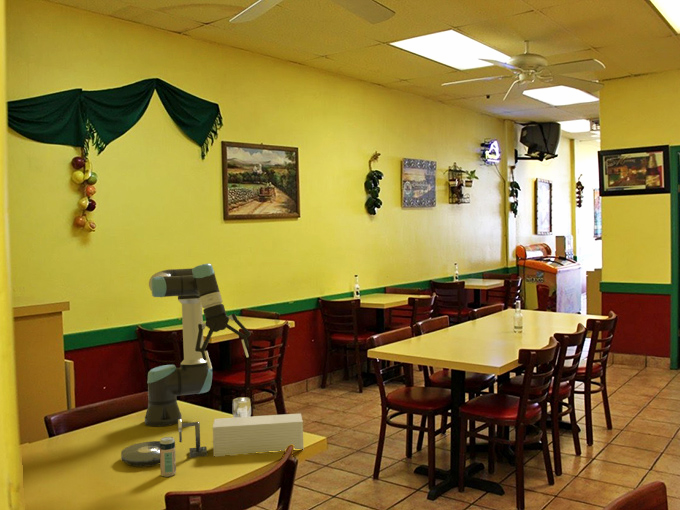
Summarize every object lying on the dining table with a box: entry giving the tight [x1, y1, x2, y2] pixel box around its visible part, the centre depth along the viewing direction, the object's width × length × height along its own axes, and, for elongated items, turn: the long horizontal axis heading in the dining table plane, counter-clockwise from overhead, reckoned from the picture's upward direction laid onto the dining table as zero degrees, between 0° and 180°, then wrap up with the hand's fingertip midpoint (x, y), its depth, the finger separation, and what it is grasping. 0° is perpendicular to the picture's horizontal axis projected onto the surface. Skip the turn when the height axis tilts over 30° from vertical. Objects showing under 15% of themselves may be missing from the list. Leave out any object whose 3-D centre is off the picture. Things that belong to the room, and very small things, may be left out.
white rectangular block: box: [212, 413, 305, 457], centre depth 231 cm, size 32×11×11 cm, turn 98°
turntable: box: [120, 440, 161, 465], centre depth 223 cm, size 18×18×2 cm
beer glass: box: [232, 396, 252, 418], centre depth 244 cm, size 7×7×15 cm
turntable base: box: [127, 462, 160, 468], centre depth 223 cm, size 14×14×1 cm
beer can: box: [159, 436, 177, 478], centre depth 208 cm, size 5×5×12 cm
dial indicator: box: [177, 419, 208, 459], centre depth 226 cm, size 6×10×13 cm, turn 104°
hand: (229, 362), depth 226 cm, fingers open, 13 cm apart
